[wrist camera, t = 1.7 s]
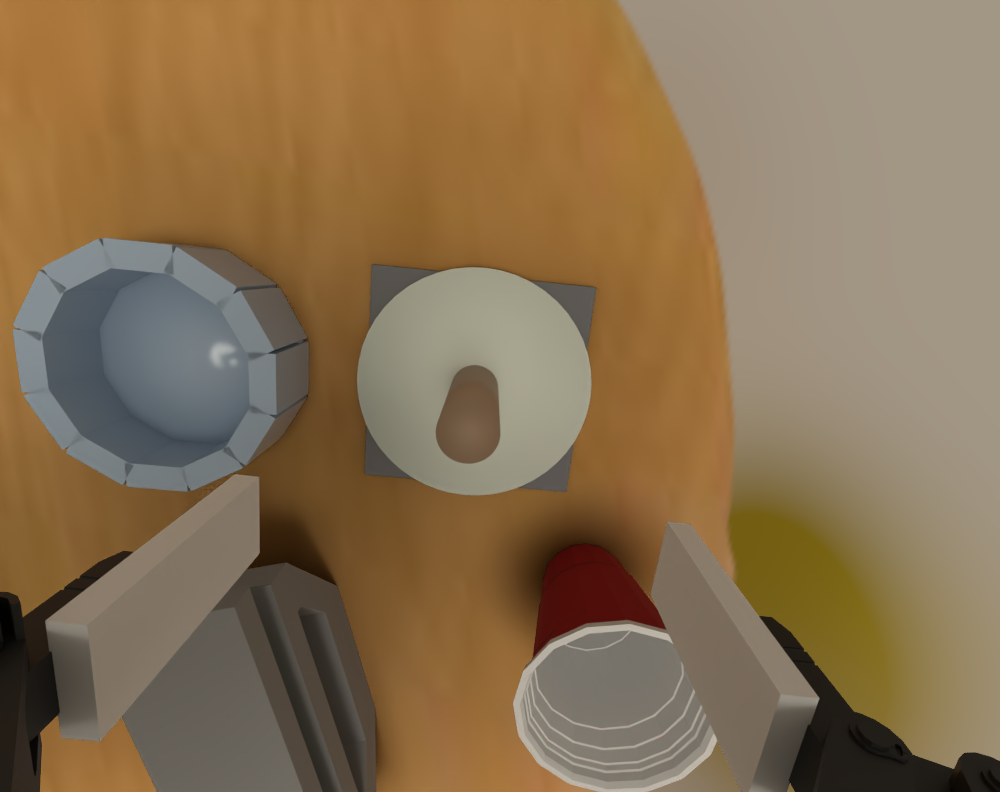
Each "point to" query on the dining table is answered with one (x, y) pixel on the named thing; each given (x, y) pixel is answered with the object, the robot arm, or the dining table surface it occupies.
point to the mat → (398, 278)
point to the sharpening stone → (262, 696)
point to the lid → (474, 381)
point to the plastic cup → (607, 683)
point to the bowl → (160, 361)
